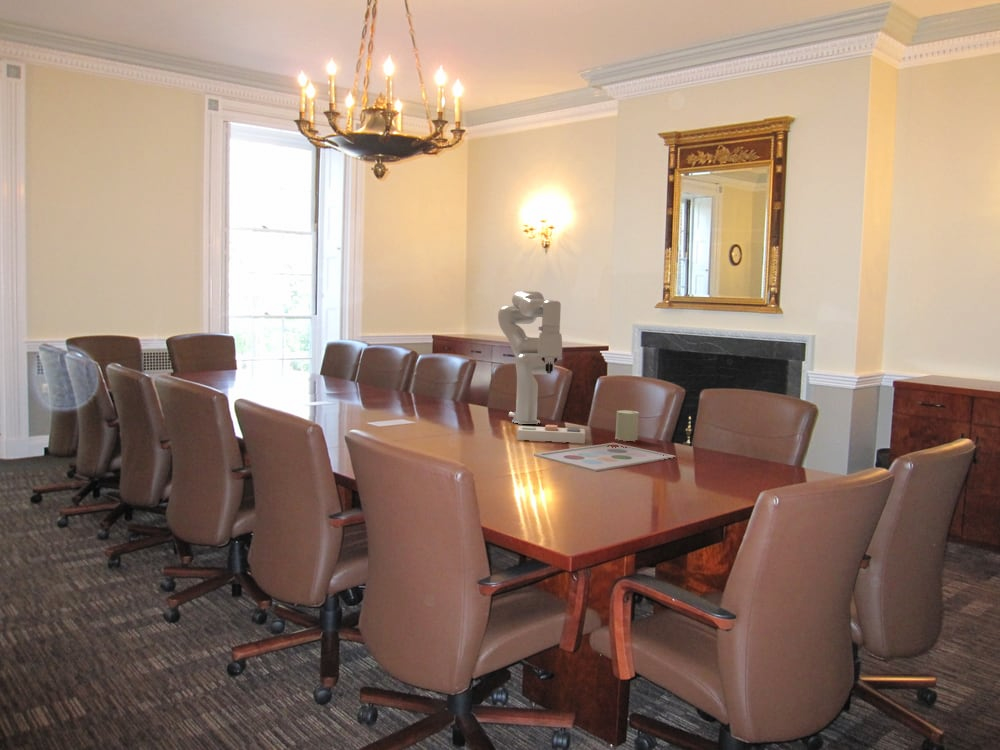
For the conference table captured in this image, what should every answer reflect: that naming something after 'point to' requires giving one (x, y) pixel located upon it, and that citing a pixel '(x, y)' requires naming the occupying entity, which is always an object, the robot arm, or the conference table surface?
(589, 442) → the conference table surface
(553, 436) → the button strip
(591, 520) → the conference table surface
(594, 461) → the dotted sorting mat
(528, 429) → the sage button
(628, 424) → the can
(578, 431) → the charcoal button
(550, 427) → the terracotta button
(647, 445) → the conference table surface
